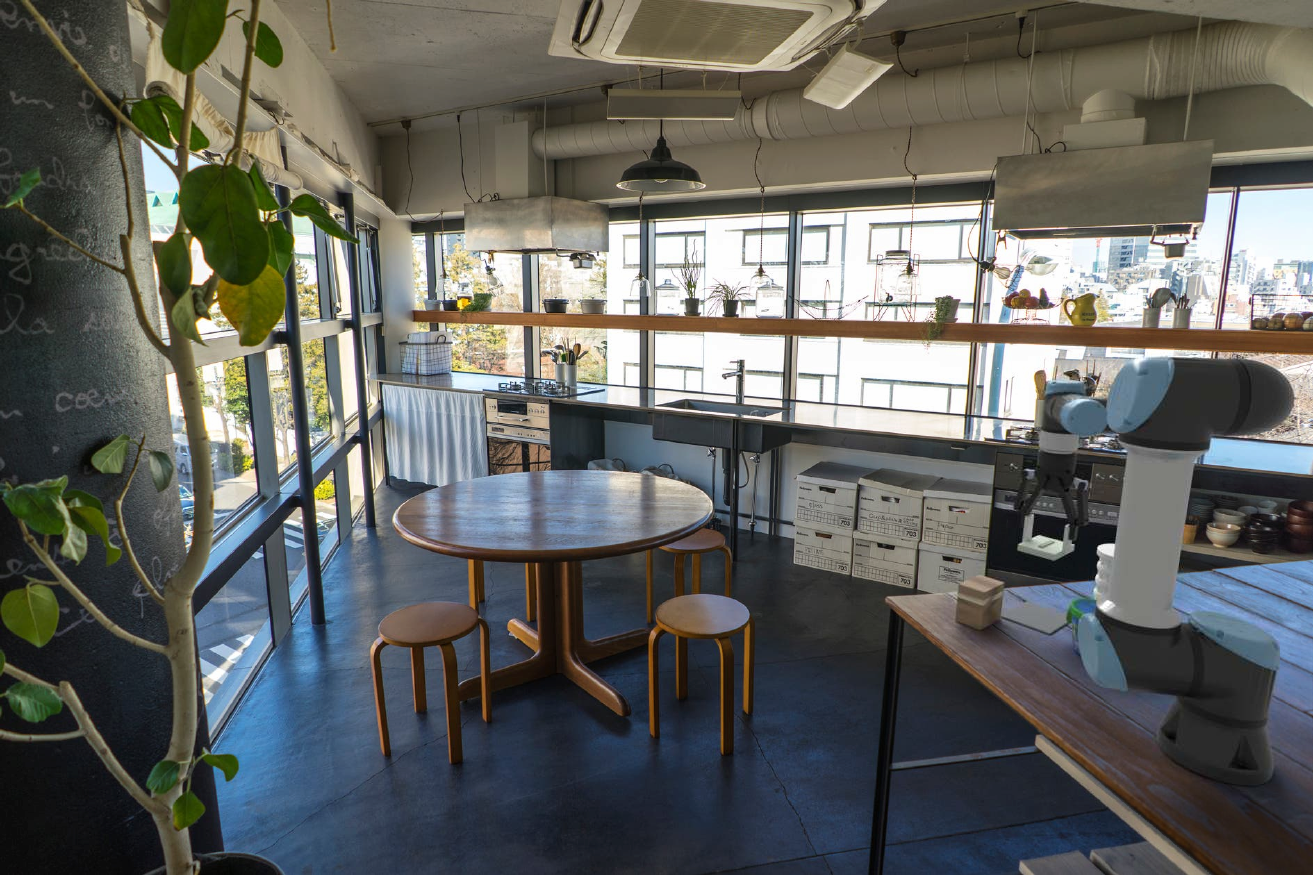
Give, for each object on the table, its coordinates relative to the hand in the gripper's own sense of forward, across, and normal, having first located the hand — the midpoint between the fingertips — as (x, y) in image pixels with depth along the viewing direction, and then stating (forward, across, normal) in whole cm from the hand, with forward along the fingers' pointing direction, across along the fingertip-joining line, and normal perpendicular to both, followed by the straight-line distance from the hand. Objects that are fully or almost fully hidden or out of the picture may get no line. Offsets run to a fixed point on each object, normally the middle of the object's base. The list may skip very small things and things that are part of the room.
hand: (1045, 547), depth 163 cm
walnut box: (+17, +8, +12) cm, 23 cm away
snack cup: (+17, -15, +8) cm, 25 cm away
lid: (+1, 0, 0) cm, 1 cm away
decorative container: (+17, -13, -9) cm, 24 cm away
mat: (+17, 0, 0) cm, 17 cm away
